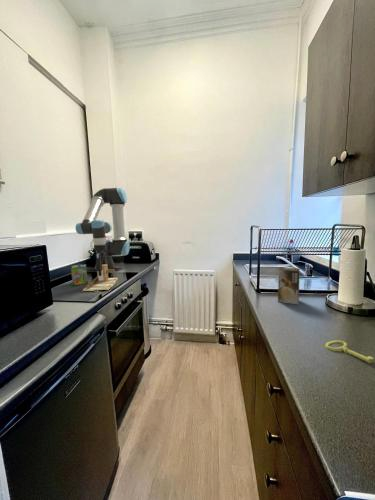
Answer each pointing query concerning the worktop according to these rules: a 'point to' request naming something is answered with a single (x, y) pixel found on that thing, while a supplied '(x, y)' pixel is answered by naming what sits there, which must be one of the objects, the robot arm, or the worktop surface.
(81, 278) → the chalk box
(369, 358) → the key
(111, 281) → the guide board
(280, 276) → the coffee box
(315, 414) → the worktop surface
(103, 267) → the marking gauge
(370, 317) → the worktop surface
